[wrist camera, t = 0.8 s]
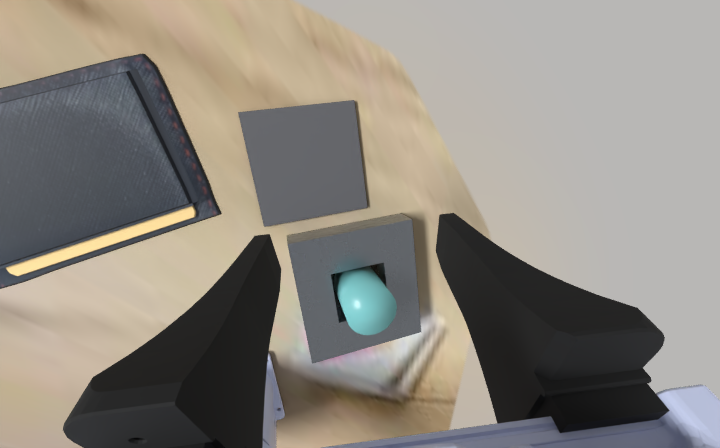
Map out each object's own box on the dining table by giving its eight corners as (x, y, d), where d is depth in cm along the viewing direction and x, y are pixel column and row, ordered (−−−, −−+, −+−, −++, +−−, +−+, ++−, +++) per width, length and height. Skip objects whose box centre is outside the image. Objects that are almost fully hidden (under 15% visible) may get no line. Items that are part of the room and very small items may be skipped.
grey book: (146, 46, 24) (222, 222, 28) (155, 53, 26) (225, 218, 30) (-164, 110, 20) (-20, 297, 25) (-129, 112, 22) (0, 287, 27)
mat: (366, 206, 33) (367, 207, 33) (264, 225, 31) (264, 226, 30) (353, 100, 30) (354, 100, 30) (238, 112, 28) (238, 112, 27)
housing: (410, 318, 38) (421, 332, 36) (309, 346, 36) (312, 363, 33) (401, 213, 34) (412, 219, 32) (286, 235, 32) (287, 244, 29)
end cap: (377, 294, 36) (398, 327, 30) (336, 304, 35) (350, 341, 29) (372, 256, 35) (394, 282, 28) (330, 266, 34) (342, 294, 27)
